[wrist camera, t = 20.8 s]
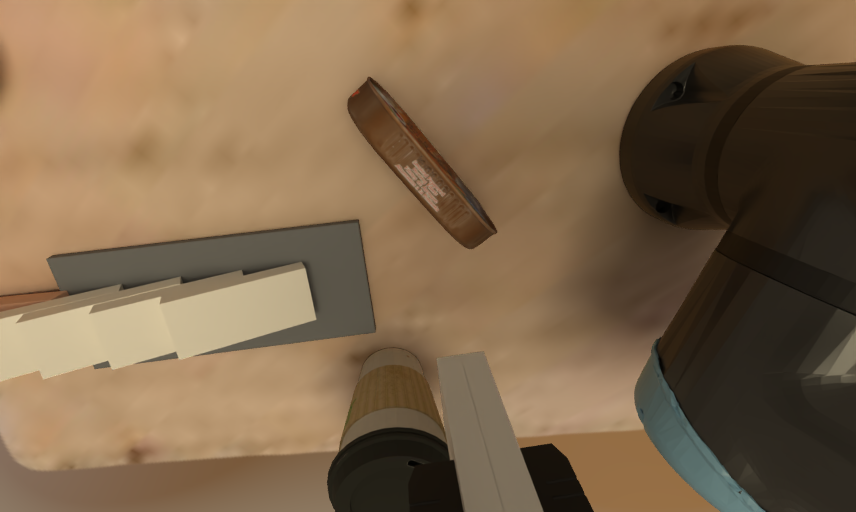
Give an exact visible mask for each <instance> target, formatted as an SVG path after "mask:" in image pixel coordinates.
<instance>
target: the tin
mask: <svg viewBox="0 0 856 512" xmlns="http://www.w3.org/2000/svg"><path fill="white" fill-rule="evenodd" d="M348 112H349V114H350V116H351V118H352V120H353V121H354V123H355V124H356V126H357V128H358V129H359V131H360V132H361V133H362V135H363V136H364V137H365V139H366V140H367V141H368V142H369V144H370V145H371V146H372V147H373V149H374V150H375V151H376V152H377V153H378V155H379V156H380V157H381V158H382V159H383V160H384V161H385V163H386V164H387V165H388V166H389V167H390V168H391V169H392V170H393V172H394V173H395V174H396V175H397V176H398V177H399V179H400V180H401V181H402V182H403V183H404V184H405V185H406V187H407V188H408V189H409V190H410V191H411V192H412V193H413V194H414V195H415V197H416V198H417V199H418V200H419V201H420V202H421V203H422V204H423V206H424V207H425V208H426V209H427V210H428V211H429V212H430V213H431V214H432V216H433V217H434V218H435V219H436V220H437V221H438V222H439V223H440V224H441V225H442V226H443V227H444V229H445V230H446V231H447V232H448V233H449V234H450V235H451V236H452V237H453V238H454V239H455V240H456V241H458V242H459V243H460V244H461V245H463V246H464V247H466V248H468V249H474V248H475V247H477V246H478V245H480V244H481V243H482V242H484V241H485V240H486V239H488V238H489V237H490V236H491V235H493V234H496V233H497V230H496V228H495V226H494V224H493V223H492V221H491V220H490V218H489V217H488V215H487V214H486V213H485V211H484V210H483V208H482V207H481V205H480V204H479V202H478V201H477V200H476V198H475V197H474V196H473V194H472V193H471V192H470V191H469V189H468V188H467V187H466V186H465V185H464V183H463V182H462V181H461V180H460V178H459V177H458V176H457V175H456V173H455V172H454V171H453V170H452V169H451V167H450V166H449V165H448V164H447V163H446V161H445V160H444V159H443V158H442V157H441V155H440V154H439V153H438V152H437V150H436V149H435V148H434V147H433V146H432V144H431V143H430V142H429V141H428V140H427V138H426V137H425V136H424V135H423V134H422V132H421V131H420V130H419V129H418V127H417V126H416V125H415V124H414V123H413V121H412V120H411V119H410V118H409V117H408V115H407V114H406V113H405V112H404V111H403V110H402V109H401V107H400V106H399V105H398V104H397V103H396V102H395V101H394V99H393V98H392V97H391V96H390V95H389V94H388V93H387V92H386V91H385V90H384V89H383V88H382V87H381V86H380V85H379V84H378V83H377V82H376V81H375V80H373V79H372V78H371V77H368V78H367V81H366V82H365V83H364V84H363V85H362V86H361V87H360V88H359V89H358V90H357V91H356V92H355V93H353V94H352V95H351V97H350V98H349V99H348Z"/></svg>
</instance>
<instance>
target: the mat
mask: <svg viewBox="0 0 856 512" xmlns="http://www.w3.org/2000/svg"><path fill="white" fill-rule="evenodd" d="M47 262H48V264H49V266H50V269H51V271H52V273H53V275H54V278H55V280H56V282H57V284H58V287H59V289H60V291H67V292H68V294H69V296H71V295H75V294H80V293H84V292H88V291H93V290H97V289H101V288H106V287H110V286H114V285H119V284H122V286H123V289H124V290H126V289H130V288H134V287H138V286H143V285H147V284H151V283H155V282H159V281H164V280H168V279H172V278H176V277H180V276H181V279H182V282H183V284H184V283H188V282H193V281H197V280H201V279H205V278H210V277H214V276H218V275H222V274H226V273H231V272H235V271H239V270H242V272H243V276H244V275H248V274H252V273H257V272H261V271H265V270H269V269H273V268H277V267H281V266H285V265H290V264H294V263H298V262H302V264H303V265H304V267H305V269H306V273H307V278H308V283H309V287H310V292H311V297H312V301H313V306H314V311H315V315H316V320H314V321H310V322H307V323H303V324H300V325H297V326H293V327H290V328H287V329H283V330H280V331H276V332H273V333H270V334H266V335H263V336H259V337H256V338H253V339H249V340H246V341H243V342H239V343H236V344H232V345H229V346H226V347H222V348H219V349H215V350H212V351H209V352H205V353H202V354H199V355H206V354H214V353H222V352H229V351H237V350H245V349H252V348H260V347H268V346H275V345H283V344H291V343H298V342H306V341H314V340H322V339H329V338H337V337H345V336H352V335H360V334H368V333H375V331H376V328H375V321H374V315H373V309H372V302H371V296H370V290H369V284H368V277H367V271H366V265H365V258H364V252H363V246H362V239H361V233H360V227H359V220H352V221H343V222H335V223H326V224H318V225H309V226H301V227H292V228H284V229H275V230H266V231H258V232H249V233H241V234H232V235H224V236H215V237H207V238H198V239H190V240H181V241H173V242H164V243H155V244H147V245H138V246H130V247H121V248H113V249H104V250H96V251H87V252H79V253H70V254H62V255H53V256H51V257H49V258H47ZM199 355H195V356H199ZM176 358H178V355H177V352H173V353H169V354H166V355H163V356H159V357H156V358H152V359H149V360H145V361H142V362H138V363H145V362H153V361H160V360H168V359H176ZM135 364H137V363H135ZM93 366H94V369H99V368H107V367H111V366H110V364H109V361H105V362H102V363H98V364H95V365H93Z"/></svg>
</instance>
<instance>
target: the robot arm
mask: <svg viewBox="0 0 856 512" xmlns="http://www.w3.org/2000/svg"><path fill="white" fill-rule="evenodd" d="M620 166H621V172H622V177H623V180H624V183H625V186H626V188H627V190H628V192H629V194H630V195H631V197H632V198H633V200H634V201H635V202H636V203H637V205H638V206H639V207H641V208H642V209H643V210H644V211H645V212H647V213H648V214H650V215H652V216H653V217H655V218H657V219H660V220H662V221H664V222H666V223H668V224H671V225H673V226H676V227H681V228H685V229H693V230H727V231H726V233H725V235H724V236H723V238H722V239H721V241H720V243H719V244H718V246H717V248H716V249H715V250H714V252H713V253H712V255H711V257H710V258H709V260H708V262H707V263H706V265H705V267H704V268H703V270H702V272H701V273H700V275H699V277H698V278H697V280H696V282H695V284H694V285H693V287H692V289H691V290H690V292H689V294H688V295H687V297H686V299H685V300H684V302H683V304H682V305H681V307H680V309H679V310H678V312H677V314H676V315H675V317H674V318H673V320H672V322H671V323H670V325H669V327H668V328H667V330H666V331H665V333H664V335H663V336H662V337H660V338H659V339H656V341H655V342H654V344H653V346H652V350H651V356H650V358H649V360H648V361H647V363H646V365H645V367H644V369H643V371H642V373H641V375H640V377H639V379H638V381H637V383H636V386H635V391H634V400H635V406H636V410H637V412H638V416H639V418H640V420H641V422H642V423H643V425H644V429H645V431H646V433H647V435H648V436H649V438H650V440H651V441H652V442H653V444H654V445H655V447H656V448H657V450H658V451H659V452H660V454H661V455H662V456H663V457H664V459H665V460H666V461H667V462H668V463H669V465H670V466H671V467H672V468H673V469H674V470H675V471H676V472H677V473H678V474H679V475H680V476H681V477H682V478H683V479H684V481H686V482H687V483H688V484H689V485H690V486H691V487H692V488H693V489H694V490H695V491H696V492H697V493H698V494H699V495H701V496H702V497H703V498H704V499H705V500H706V501H708V502H709V503H710V504H711V505H713V506H714V507H715V508H717V509H718V510H719V511H721V512H856V62H852V63H837V64H821V65H804V64H801V63H799V62H796V61H794V60H791V59H789V58H786V57H784V56H781V55H779V54H776V53H774V52H771V51H768V50H766V49H763V48H759V47H754V46H745V45H732V46H723V47H715V48H708V49H704V50H700V51H697V52H694V53H691V54H689V55H686V56H684V57H682V58H680V59H679V60H677V61H675V62H674V63H672V64H671V65H669V66H668V67H667V68H665V69H664V70H663V71H662V72H660V73H659V74H658V75H657V76H656V77H655V78H654V79H653V80H652V81H651V82H650V83H649V84H648V85H647V87H646V88H645V89H644V91H643V92H642V93H641V95H640V96H639V98H638V99H637V101H636V102H635V104H634V106H633V108H632V110H631V112H630V114H629V116H628V119H627V121H626V124H625V127H624V130H623V135H622V139H621V146H620ZM437 367H438V376H439V384H440V393H441V402H442V410H443V419H444V427H445V433H446V439H447V445H448V450H449V456H450V460H448V461H441V462H435V463H428V464H421V465H415V467H414V470H413V472H412V475H411V477H410V480H409V482H408V493H409V511H410V512H594V511H593V509H592V507H591V505H590V503H589V501H588V499H587V497H586V496H585V495H584V491H583V489H582V487H581V485H580V483H579V481H578V480H577V478H576V475H575V473H574V471H573V469H572V467H571V465H570V462H569V460H568V458H567V457H566V456H565V455H564V454H562V453H561V452H560V451H559V450H558V449H557V448H556V447H555V446H554V445H553V444H545V445H538V446H532V447H526V448H519V445H518V442H517V439H516V437H515V434H514V431H513V429H512V426H511V423H510V421H509V418H508V415H507V413H506V410H505V407H504V405H503V402H502V399H501V397H500V394H499V391H498V389H497V386H496V383H495V381H494V378H493V375H492V373H491V370H490V367H489V364H488V362H487V359H486V356H485V354H484V351H482V352H475V353H468V354H461V355H454V356H447V357H440V358H437Z"/></svg>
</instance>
